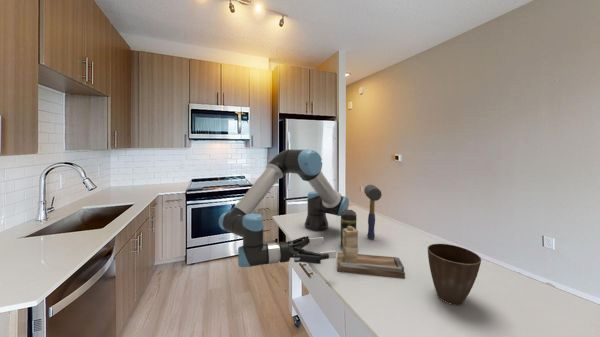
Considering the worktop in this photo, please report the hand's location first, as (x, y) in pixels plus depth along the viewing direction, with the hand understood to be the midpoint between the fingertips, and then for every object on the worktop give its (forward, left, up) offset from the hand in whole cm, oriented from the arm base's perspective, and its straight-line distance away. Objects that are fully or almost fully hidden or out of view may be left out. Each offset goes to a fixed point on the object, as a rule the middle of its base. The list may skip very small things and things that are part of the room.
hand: (329, 246), depth 95 cm
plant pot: (+11, +42, -10) cm, 44 cm away
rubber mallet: (-36, +22, -10) cm, 43 cm away
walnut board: (-5, +17, -10) cm, 20 cm away
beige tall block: (-4, +9, -8) cm, 12 cm away
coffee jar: (-24, +9, -10) cm, 27 cm away
